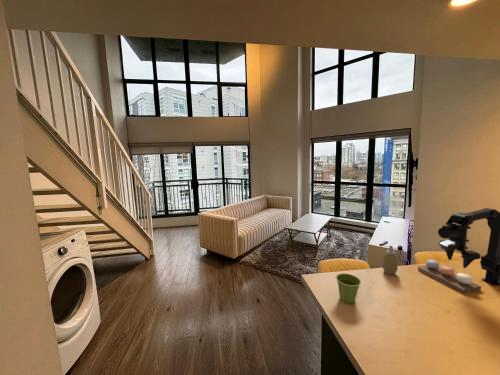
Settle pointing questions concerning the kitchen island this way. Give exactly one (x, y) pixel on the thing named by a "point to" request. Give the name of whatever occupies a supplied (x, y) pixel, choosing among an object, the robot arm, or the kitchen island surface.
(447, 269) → the peach rounded lump
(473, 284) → the button board
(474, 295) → the kitchen island surface
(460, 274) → the cream white rounded ball
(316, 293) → the kitchen island surface
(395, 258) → the squeeze bottle
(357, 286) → the plant pot
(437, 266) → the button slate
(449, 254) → the robot arm
